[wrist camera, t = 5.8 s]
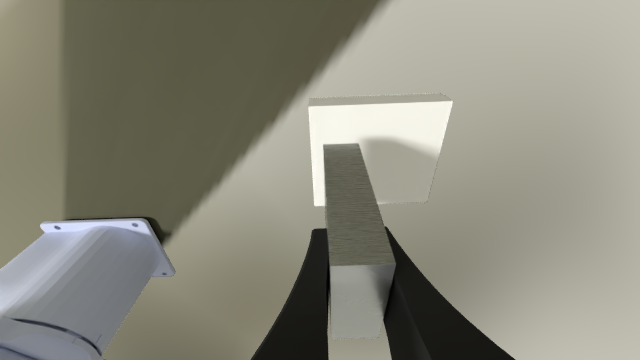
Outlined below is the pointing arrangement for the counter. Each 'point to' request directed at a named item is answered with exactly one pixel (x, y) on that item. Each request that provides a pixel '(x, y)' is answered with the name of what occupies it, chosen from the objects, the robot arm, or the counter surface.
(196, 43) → the counter surface
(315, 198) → the tile
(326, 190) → the pale grey upright block
